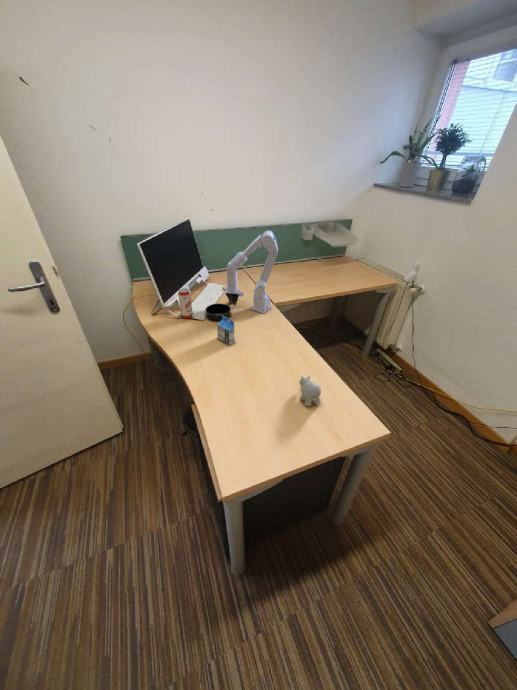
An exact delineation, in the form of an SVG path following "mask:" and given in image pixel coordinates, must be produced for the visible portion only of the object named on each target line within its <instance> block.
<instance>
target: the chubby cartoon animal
mask: <svg viewBox="0 0 517 690" xmlns="http://www.w3.org/2000/svg"><path fill="white" fill-rule="evenodd" d="M310 376H311V375H309V376H307V377H304V376H303V375H301V377H300V379H299V380H298V381H299V382H298V383H299V385H300V387H301V392H300V393H301V396H300V397H301V400H302V401H303V402H304V406H306V407H308V408H309V407H311V406H312V403H313V404H315V405H319V404H320V403H321V400H320V399H321V398H320V397H321V394H322V390H321V387H320V385H319V384H318V383H317V382H315V381H311V379H310V378H311V377H310Z"/></svg>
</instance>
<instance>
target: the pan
mask: <svg viewBox="0 0 517 690" xmlns="http://www.w3.org/2000/svg"><path fill="white" fill-rule="evenodd" d="M238 300H239V298H238V299H237V302H238ZM231 305H233V300H231V301H230V302H229V301H227V302H226V303H219V302H218V303H213V304H209V305H208V306H206V307H205V309H204V311H205V318H206V319H207V320H208V321H210V322H216V323H219V322H220V321H221V320H222V315H223V316H225V317H227V318H229V319H231V316H232V313H231V312H232V311H231V310H232V309H231V307H230V306H231ZM226 320H227V319H226ZM227 321H228V320H227Z"/></svg>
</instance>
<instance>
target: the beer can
mask: <svg viewBox="0 0 517 690" xmlns="http://www.w3.org/2000/svg"><path fill="white" fill-rule="evenodd" d="M177 295H178V302H179V307H180V309H179V310H180V314H181V318H183V319H187V320H188V319H192V317H193V316H194V313H193V303H192V298H191V297H192V296H191V292H190V290H189V288H180V289H178V293H177ZM192 315H193V316H192Z"/></svg>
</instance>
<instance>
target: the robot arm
mask: <svg viewBox="0 0 517 690" xmlns="http://www.w3.org/2000/svg"><path fill="white" fill-rule="evenodd" d="M263 247H264V248H265V249H266V251H267V252H268V253H267V257H266V258H265V259H266V260H265V262H264V265H263V268H262V271H261V274H260V276H259V279H258V281H257V282H255V286H254V290H253V306H252V307H250V310H252V311H254V312H255V311H256V312H259V313H260V314H264V313H266V312H267V311H269V310H270V309H271V298H270V297H269V296H268V295H267V293H266V289H267V283H268V281H269V277H270V275H271V272H272V270H273V267H274V264H275V261H276V259H277V257H278V255H279V248H278V247H279V246H278V243H277V238H276V236H275V234H274V232H273V231H272V230H269V229H266V230H264V231H263V232H262V233H261V234H259V235H258V236H257V237H256V238H255V239H253V241H252V242H251V243H250V244H249V245H248V246H247V248H246V249H244V250H243V251H239V252H236V253H235V256H234V257H233V258H232V259H230V260H229V262H228V263H227V264H226V266H225V271H226V282H227V284H226V285H227V286H225V285H223V286H222V287H221V290H222V291H225V296H226V298H227V300H228V302H230V301H231V300H233V304H232V305H233V306H236V305H237V302H238V301H237V299H238V300H239V297H241V298H242V297H243V296H244V292H243V291H241V290H239V288H238V269H240V268H241V267H242V266H243V265H244V264H245V263H246V262H247V261H248V257H249V256H250V255H251V254H252V253H253V252H254V251H255V250H256V249H257V248H263Z"/></svg>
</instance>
